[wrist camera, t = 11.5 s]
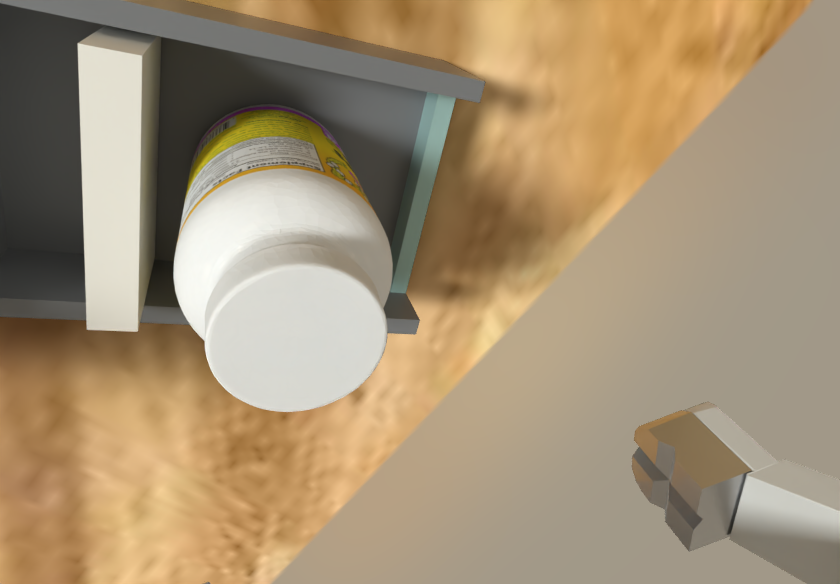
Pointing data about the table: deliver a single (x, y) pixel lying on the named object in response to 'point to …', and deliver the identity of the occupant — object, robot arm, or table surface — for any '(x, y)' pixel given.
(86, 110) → the plate
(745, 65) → the table surface
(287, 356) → the supplement bottle
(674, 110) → the table surface
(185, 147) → the pusher lane
